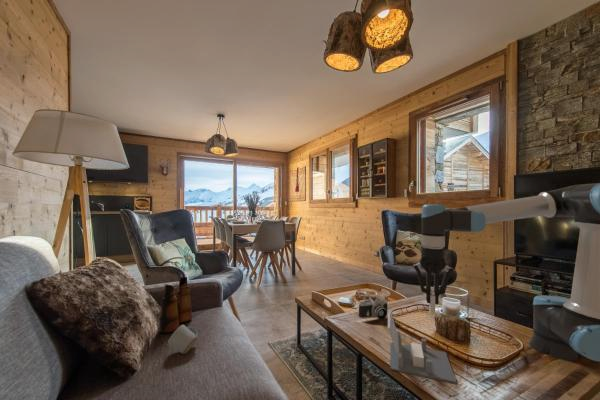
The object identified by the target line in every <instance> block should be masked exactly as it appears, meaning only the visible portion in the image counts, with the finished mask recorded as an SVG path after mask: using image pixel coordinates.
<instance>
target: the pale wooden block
mask: <svg viewBox="0 0 600 400" xmlns="http://www.w3.org/2000/svg"><path fill="white" fill-rule="evenodd" d="M410 346H411V354H412V361H413V366H417V367H422V368H424V356H423V352H422V343H415V342H411V343H410Z"/></svg>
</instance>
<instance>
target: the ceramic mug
mask: <svg viewBox="0 0 600 400" xmlns="http://www.w3.org/2000/svg"><path fill="white" fill-rule="evenodd" d="M197 337H198V330H197V329H196V328H194V327H193V326H186V325H185V324H181V325H179V328H178V329H176V330H174V331H173V333H172V335H171V336H170V337H169V338H168V340H167V343H168V344H169V345H170V346H171V347H172V348H174V349H175V350H177V351H178V352H179V353H180V354H183V355H186V354H187V353H188V352H189V351H190V350H191V349H192V347H193V346H194V345H195V343H196V342H197V340H198V339H197Z"/></svg>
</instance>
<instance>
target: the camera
mask: <svg viewBox="0 0 600 400" xmlns="http://www.w3.org/2000/svg"><path fill="white" fill-rule="evenodd" d="M386 317H388V300H387V299H386V298H385V297H382V298H380V297H378V296H372V297H370V298H369V299H360V300H359V302H358V318H360V319H362V320H364V319H372V318H373V319H374V318H375V319H376V318H377V319H378V320H385V319H386Z"/></svg>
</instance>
